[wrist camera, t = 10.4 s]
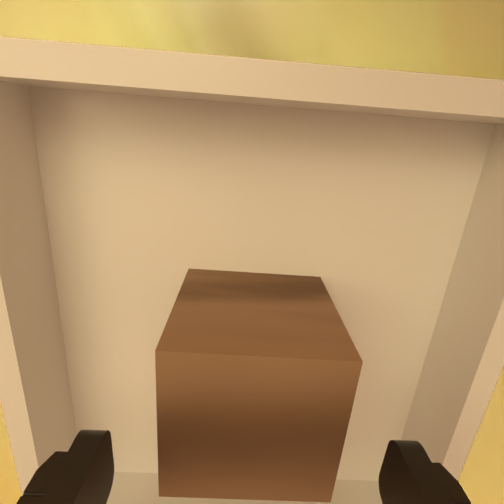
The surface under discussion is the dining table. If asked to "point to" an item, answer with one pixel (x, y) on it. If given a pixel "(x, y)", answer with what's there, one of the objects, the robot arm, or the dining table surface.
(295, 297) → the cube
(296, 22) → the dining table surface
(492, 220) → the tray
